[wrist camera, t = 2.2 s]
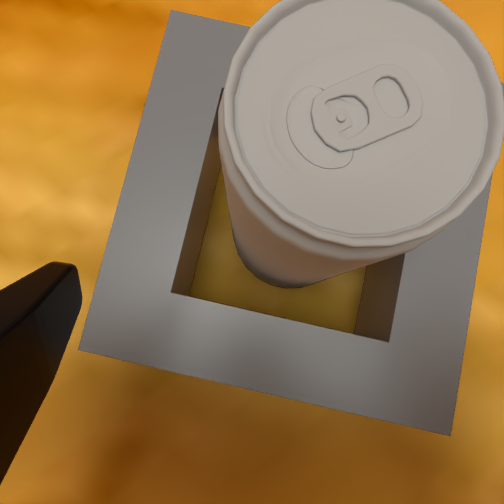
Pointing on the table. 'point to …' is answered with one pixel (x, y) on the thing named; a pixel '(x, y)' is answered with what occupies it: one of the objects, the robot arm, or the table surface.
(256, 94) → the beverage can
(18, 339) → the robot arm
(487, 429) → the table surface
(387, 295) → the can holder
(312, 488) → the table surface
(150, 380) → the table surface
